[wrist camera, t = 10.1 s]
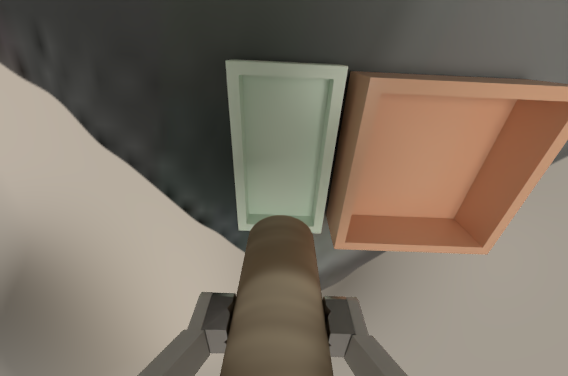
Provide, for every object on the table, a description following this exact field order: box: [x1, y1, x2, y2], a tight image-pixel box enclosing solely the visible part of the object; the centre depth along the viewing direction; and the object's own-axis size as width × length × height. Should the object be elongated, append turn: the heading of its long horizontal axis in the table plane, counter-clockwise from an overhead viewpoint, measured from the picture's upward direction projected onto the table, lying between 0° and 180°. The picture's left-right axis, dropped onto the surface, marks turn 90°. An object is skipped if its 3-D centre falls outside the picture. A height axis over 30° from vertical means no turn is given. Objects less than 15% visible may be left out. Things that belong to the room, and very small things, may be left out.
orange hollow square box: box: [326, 71, 568, 254], centre depth 23 cm, size 17×17×6 cm
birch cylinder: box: [220, 215, 333, 376], centre depth 11 cm, size 4×4×8 cm
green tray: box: [225, 59, 348, 233], centre depth 25 cm, size 18×10×3 cm, turn 178°
